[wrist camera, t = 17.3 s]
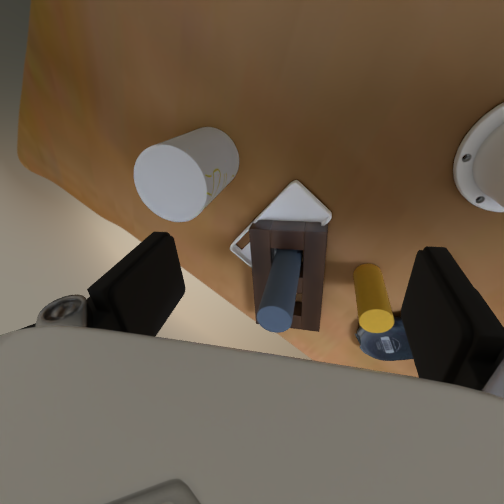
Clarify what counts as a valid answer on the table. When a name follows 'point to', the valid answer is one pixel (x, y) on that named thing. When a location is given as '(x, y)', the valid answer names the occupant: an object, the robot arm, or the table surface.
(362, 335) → the electronic device
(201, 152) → the cup
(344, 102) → the table surface
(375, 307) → the mustard peg
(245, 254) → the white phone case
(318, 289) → the stand
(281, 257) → the blue peg
